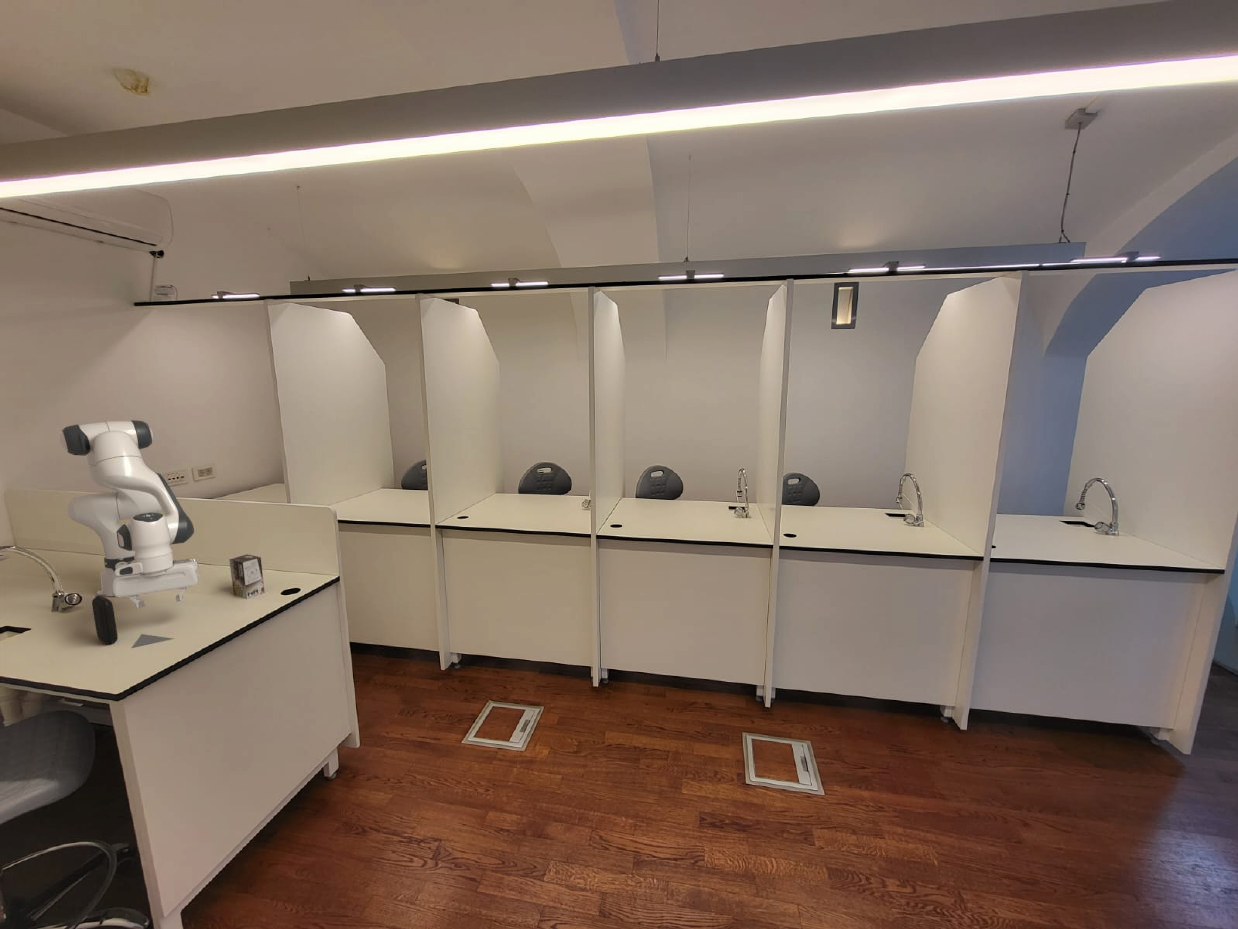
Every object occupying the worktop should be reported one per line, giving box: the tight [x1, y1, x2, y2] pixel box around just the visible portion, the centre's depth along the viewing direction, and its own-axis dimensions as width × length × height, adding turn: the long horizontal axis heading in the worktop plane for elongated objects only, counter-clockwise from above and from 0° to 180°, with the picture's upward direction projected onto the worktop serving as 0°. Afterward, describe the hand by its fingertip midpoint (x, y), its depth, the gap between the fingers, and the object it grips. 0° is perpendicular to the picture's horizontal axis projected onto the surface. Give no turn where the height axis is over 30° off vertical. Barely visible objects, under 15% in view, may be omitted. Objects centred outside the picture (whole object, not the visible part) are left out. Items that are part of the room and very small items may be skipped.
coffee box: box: [229, 553, 265, 600], centre depth 179 cm, size 9×6×16 cm
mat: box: [131, 633, 175, 649], centre depth 159 cm, size 22×22×1 cm
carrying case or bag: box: [91, 595, 119, 645], centre depth 147 cm, size 11×3×15 cm, turn 60°
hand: (160, 603), depth 155 cm, fingers open, 8 cm apart
